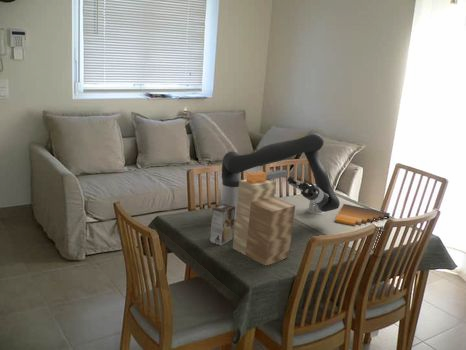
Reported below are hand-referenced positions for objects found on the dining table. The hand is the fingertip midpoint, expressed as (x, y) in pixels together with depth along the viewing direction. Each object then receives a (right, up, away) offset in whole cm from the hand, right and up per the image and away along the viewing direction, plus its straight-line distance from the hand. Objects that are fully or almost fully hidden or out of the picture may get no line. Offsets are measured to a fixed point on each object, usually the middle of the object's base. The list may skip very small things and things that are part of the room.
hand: (295, 181), depth 235 cm
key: (-14, +1, -14) cm, 19 cm away
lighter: (+38, -31, +5) cm, 49 cm away
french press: (+16, -17, +43) cm, 49 cm away
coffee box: (-34, -27, -4) cm, 43 cm away
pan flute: (+40, -21, +38) cm, 60 cm away
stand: (-17, -31, -13) cm, 37 cm away
